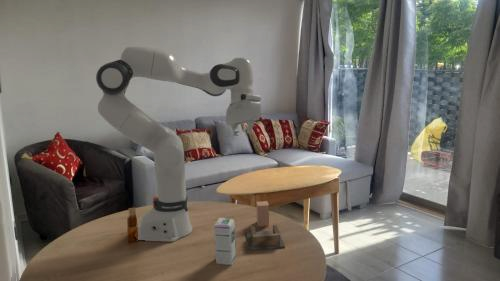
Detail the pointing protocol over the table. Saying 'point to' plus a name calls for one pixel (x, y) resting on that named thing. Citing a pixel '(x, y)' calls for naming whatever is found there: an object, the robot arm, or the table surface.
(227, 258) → the syrup box
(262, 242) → the stop cradle
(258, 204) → the block
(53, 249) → the table surface
